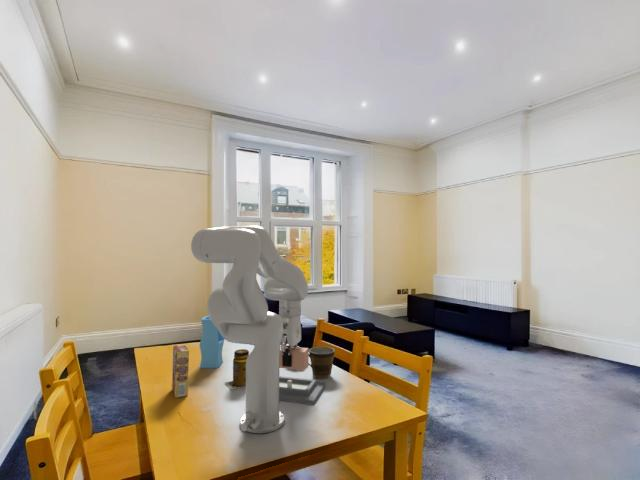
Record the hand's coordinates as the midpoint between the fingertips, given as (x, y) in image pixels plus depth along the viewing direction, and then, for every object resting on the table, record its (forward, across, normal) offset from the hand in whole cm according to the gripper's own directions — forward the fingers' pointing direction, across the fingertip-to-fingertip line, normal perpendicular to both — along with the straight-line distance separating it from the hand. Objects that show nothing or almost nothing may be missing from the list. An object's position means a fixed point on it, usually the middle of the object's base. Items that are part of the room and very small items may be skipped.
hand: (289, 363), depth 124 cm
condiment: (+10, +1, +20) cm, 22 cm away
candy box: (+10, -11, +36) cm, 39 cm away
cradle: (+10, 0, 0) cm, 10 cm away
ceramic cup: (+10, +16, -6) cm, 20 cm away
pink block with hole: (+1, 0, 0) cm, 1 cm away
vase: (+10, +17, +41) cm, 45 cm away
